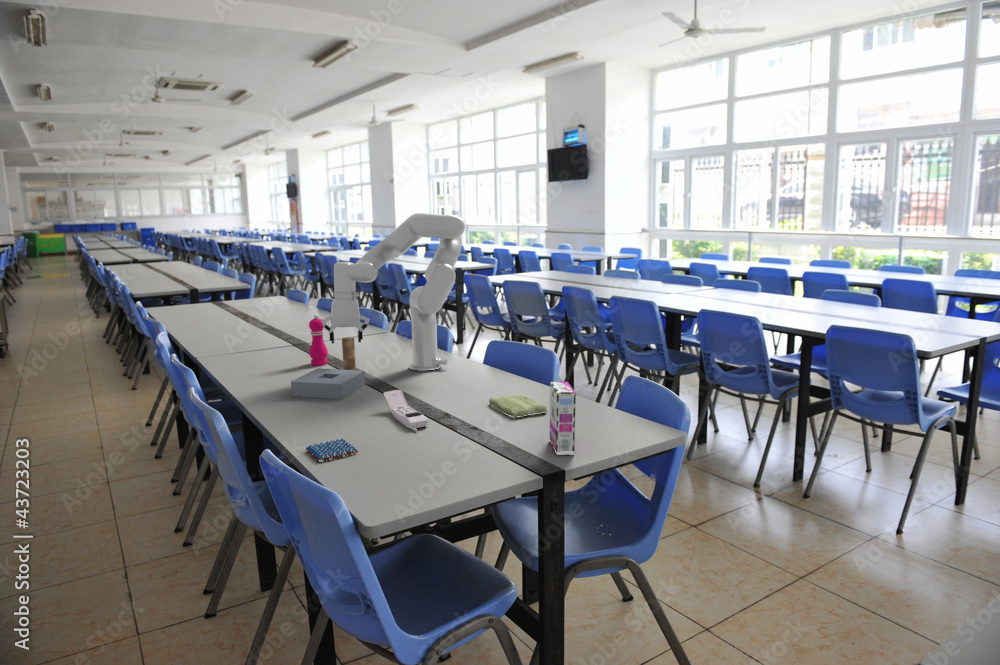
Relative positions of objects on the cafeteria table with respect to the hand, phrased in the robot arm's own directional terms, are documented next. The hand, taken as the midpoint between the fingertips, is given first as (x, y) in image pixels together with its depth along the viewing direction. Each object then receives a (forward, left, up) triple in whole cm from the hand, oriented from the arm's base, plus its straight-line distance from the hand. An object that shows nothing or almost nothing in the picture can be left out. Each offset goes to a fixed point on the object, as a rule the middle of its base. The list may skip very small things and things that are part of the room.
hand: (346, 342), depth 241 cm
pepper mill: (+19, -14, -13) cm, 27 cm away
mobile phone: (-40, +43, -13) cm, 60 cm away
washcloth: (-70, +28, -13) cm, 76 cm away
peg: (-1, 0, -13) cm, 13 cm away
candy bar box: (-88, +58, -13) cm, 106 cm away
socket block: (-3, +20, -13) cm, 23 cm away
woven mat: (-31, +73, -13) cm, 80 cm away
